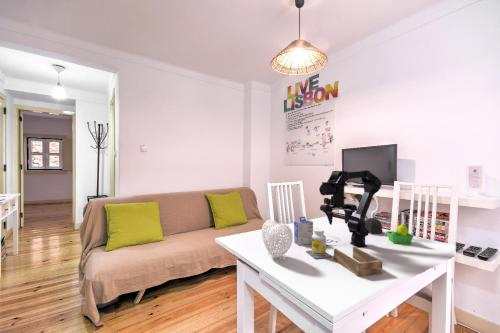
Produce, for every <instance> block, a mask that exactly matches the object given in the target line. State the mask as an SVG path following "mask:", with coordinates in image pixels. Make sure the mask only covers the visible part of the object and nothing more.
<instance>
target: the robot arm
mask: <svg viewBox="0 0 500 333" xmlns="http://www.w3.org/2000/svg"><path fill="white" fill-rule="evenodd" d="M359 178H360V181H361V182H362V183H363V187H362V188H363V191H364V192H363V194H362V197H361V199H360V202H359V204H358V206H357V205H356V204H353V203H345V200H347V196H345V187H347V186H348V184H347V181H349V180H351V179H352V180H353V179H359ZM382 185H383V184H382V181H381V179H379V177H378V176H376V175H374V174H373V173H372V172H371V171H370V170H368V169H365V170H364V169H360V170H353V171H345V170H333V171H332V172H331V174H330V176H329V177H328V179H327V181H322V182H321V184H320V187H319V188H318V191H319V193H320V195H321V196H330V198H329V197H324V198H323V204H321V205H319V210H320V211H322V212H323V213H324V214H325V215H326V218H327V220H328V223H329V225H330V226H332V225H333V219H334V218H333V216H334V212H333V210H343V213H344V223H345V224H347V225H346V226H347V229H348V230H349V233H351V236H350V242H349V244H350V245H353V247H356V248H363V247H364V248H365V247H368V244H366V237H367V236H368V237H369V234H368V233H369V231H368V230H367V229H366V228H365V225H366V222H365V221H366V215H367V214H368V210H369V208H370V205H371V203H372V201H373V198H374V197H373V195H376V194H377V193H378V192H379V191H380V189H381V188H382ZM354 213H355V214H354ZM353 214H354V215H353Z"/></svg>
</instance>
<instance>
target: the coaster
mask: <svg viewBox="0 0 500 333" xmlns="http://www.w3.org/2000/svg"><path fill="white" fill-rule="evenodd" d="M305 253H307V254H308V255H309V256H310V257H311V258H312V259H314V260H319V259H320V260H322V259H331V258H333V256H332V255H331V254H330V253H328V252H327V251H326V254H325V255H321V256H320V255H315V254H313V253H312V249H311V250H306V251H305Z"/></svg>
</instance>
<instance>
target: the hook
mask: <svg viewBox="0 0 500 333" xmlns="http://www.w3.org/2000/svg"><path fill="white" fill-rule="evenodd" d="M373 198H374V200H375V201H376V202H375V203H376V208H375V209H374V210H372V211H371V214H370V217H369V218H366V219H365V222H366V225H365V228H366V229H367V230H368V231H369V233H368V235H371V236H382V235H383V234H384V232H383V224H382V223H381V221H380V220H379V219H378V218H375V216H376V213H379V211H380V210H381V201H380V198H379V196H378V195H376V194H374V195H373Z"/></svg>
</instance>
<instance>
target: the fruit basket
mask: <svg viewBox="0 0 500 333" xmlns="http://www.w3.org/2000/svg"><path fill="white" fill-rule="evenodd" d="M395 230H396V231H391V230H387V231H386V234H387V237H388V241H389V242H391V243H393V244H399V245H400V244H403V245H411V244H412V240H413V238H414V235H413V234H412V233H409V229H408V226H407V224H405V223H401V224H400V225H398V226H396V229H395Z"/></svg>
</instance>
